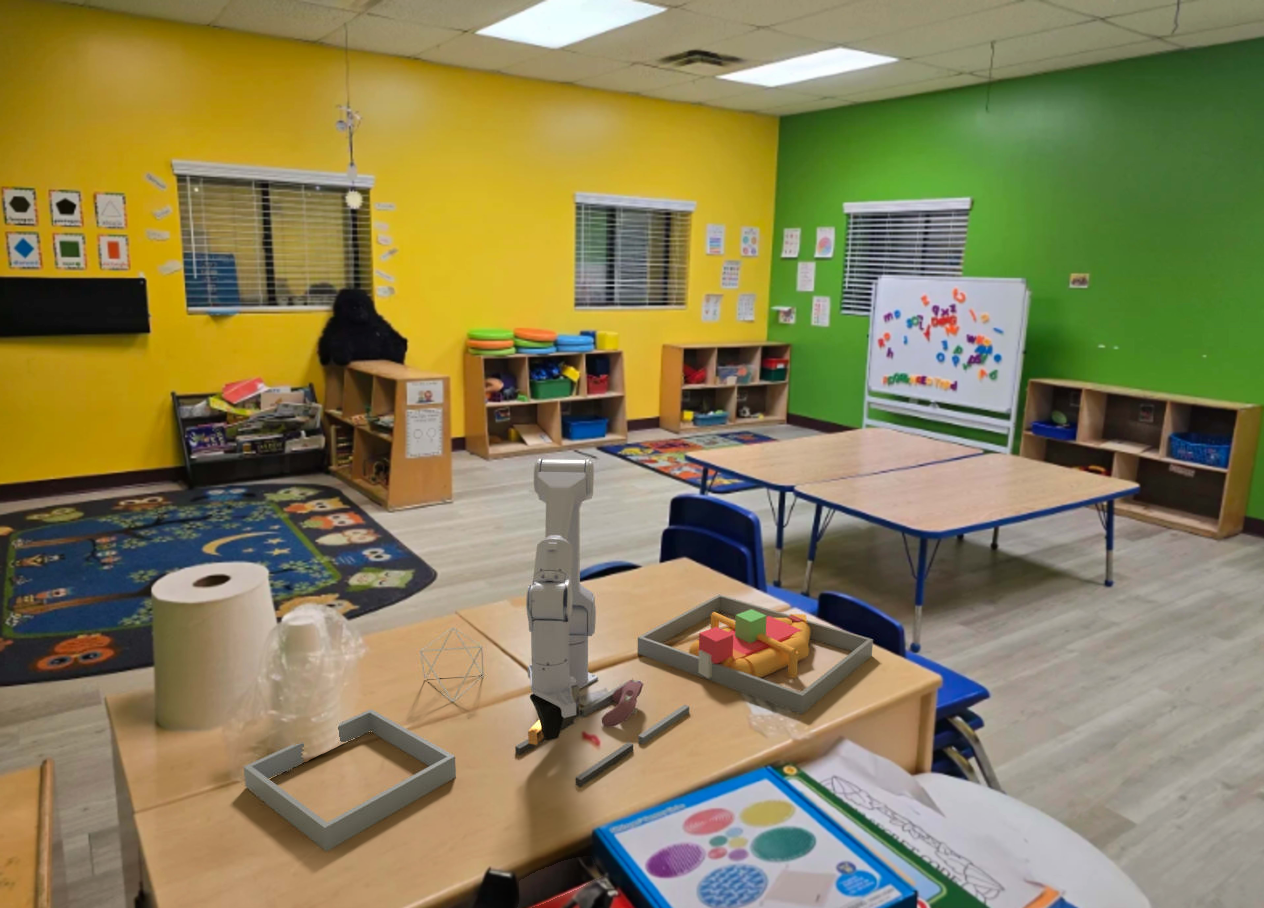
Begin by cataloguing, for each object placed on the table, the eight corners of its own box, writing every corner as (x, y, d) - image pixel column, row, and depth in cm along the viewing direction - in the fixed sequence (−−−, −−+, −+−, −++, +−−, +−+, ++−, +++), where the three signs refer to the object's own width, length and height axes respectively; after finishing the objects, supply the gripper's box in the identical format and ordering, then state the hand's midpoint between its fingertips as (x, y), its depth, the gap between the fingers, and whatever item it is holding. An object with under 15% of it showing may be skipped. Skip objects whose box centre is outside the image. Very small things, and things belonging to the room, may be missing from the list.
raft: (846, 653, 169) (849, 612, 167) (742, 702, 151) (743, 656, 148) (762, 616, 186) (764, 578, 184) (659, 656, 168) (660, 614, 166)
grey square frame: (245, 787, 124) (243, 766, 123) (372, 727, 140) (371, 708, 140) (326, 851, 111) (324, 827, 110) (455, 776, 127) (455, 755, 126)
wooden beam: (568, 710, 146) (568, 683, 145) (581, 712, 145) (581, 685, 144) (526, 760, 131) (525, 730, 130) (540, 763, 130) (539, 733, 129)
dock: (515, 752, 133) (515, 746, 133) (627, 687, 155) (627, 681, 154) (580, 786, 125) (580, 779, 125) (689, 712, 146) (689, 706, 146)
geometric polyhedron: (483, 700, 150) (482, 653, 148) (420, 704, 148) (418, 657, 146) (483, 668, 162) (482, 624, 160) (425, 672, 160) (424, 627, 158)
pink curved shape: (622, 738, 141) (640, 706, 139) (598, 724, 141) (616, 692, 139) (633, 709, 150) (651, 678, 148) (611, 696, 151) (628, 665, 149)
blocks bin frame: (637, 653, 169) (637, 637, 168) (718, 608, 191) (719, 594, 190) (801, 713, 146) (802, 695, 145) (871, 655, 169) (873, 639, 168)
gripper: (594, 671, 123) (594, 754, 126) (555, 633, 136) (556, 710, 139) (550, 681, 120) (551, 766, 123) (514, 642, 133) (516, 720, 136)
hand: (551, 737), depth 131 cm, fingers closed
